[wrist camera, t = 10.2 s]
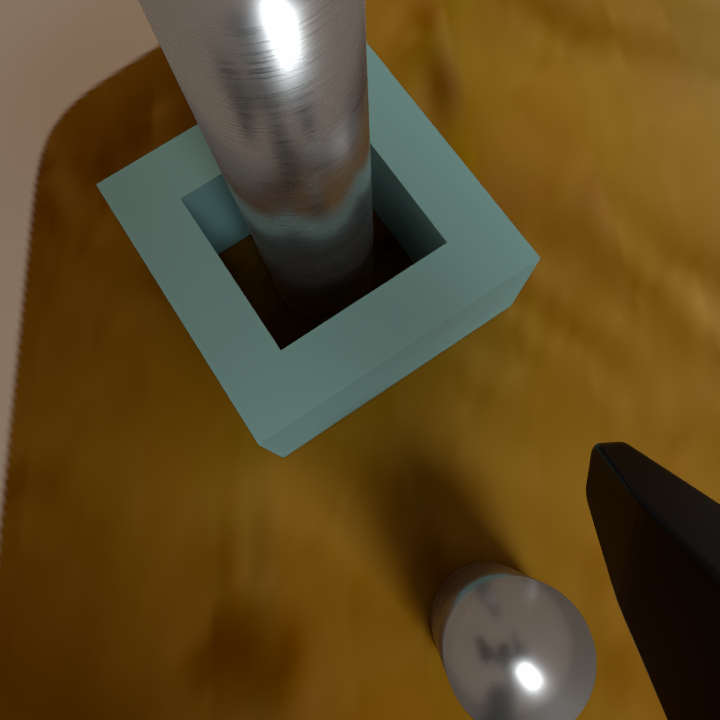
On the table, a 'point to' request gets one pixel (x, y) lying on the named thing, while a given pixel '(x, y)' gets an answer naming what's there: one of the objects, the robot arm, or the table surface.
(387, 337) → the hole block
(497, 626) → the short pin
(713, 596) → the robot arm
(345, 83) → the tall pin
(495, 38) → the table surface
